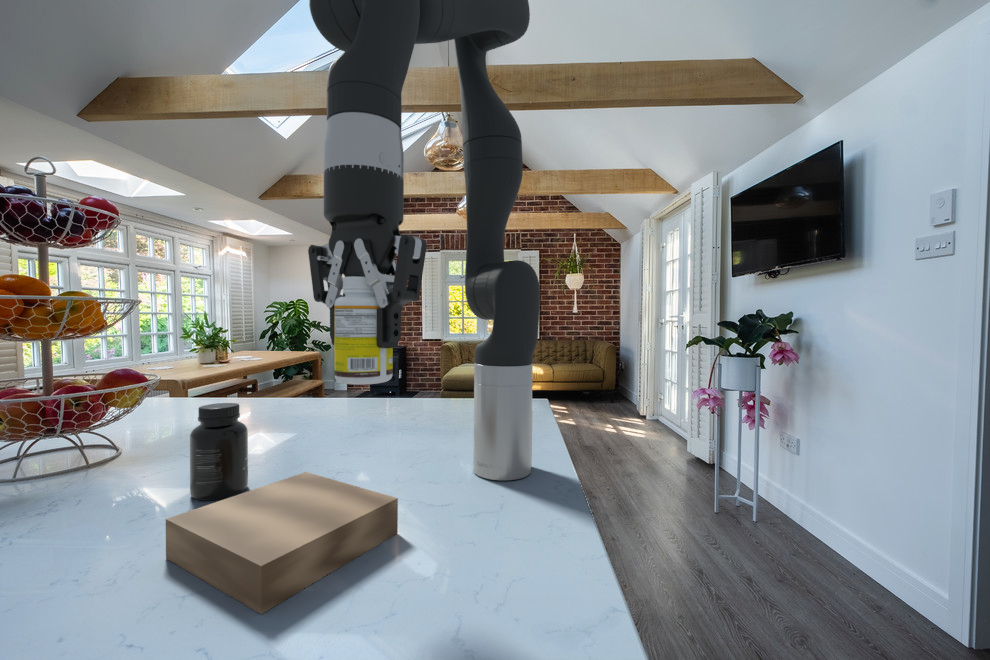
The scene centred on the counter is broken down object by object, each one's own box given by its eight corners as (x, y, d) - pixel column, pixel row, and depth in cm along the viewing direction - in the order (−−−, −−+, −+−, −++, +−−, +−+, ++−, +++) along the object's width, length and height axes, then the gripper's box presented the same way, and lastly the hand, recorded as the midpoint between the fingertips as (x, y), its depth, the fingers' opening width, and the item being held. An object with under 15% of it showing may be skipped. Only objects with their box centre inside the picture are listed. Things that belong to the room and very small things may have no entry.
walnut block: (306, 502, 58) (305, 471, 58) (397, 533, 50) (397, 498, 50) (165, 558, 44) (165, 519, 44) (261, 614, 36) (261, 566, 36)
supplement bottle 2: (370, 376, 48) (371, 281, 48) (404, 381, 44) (405, 278, 44) (322, 381, 43) (323, 277, 43) (355, 387, 40) (356, 274, 40)
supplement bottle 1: (259, 487, 63) (258, 403, 62) (210, 505, 57) (210, 412, 56) (227, 479, 66) (227, 399, 65) (178, 496, 59) (177, 407, 59)
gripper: (447, 174, 43) (445, 347, 44) (343, 193, 50) (342, 342, 51) (394, 148, 37) (392, 352, 37) (283, 174, 44) (283, 345, 44)
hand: (364, 345), depth 44 cm, fingers closed on supplement bottle 2, 5 cm apart
